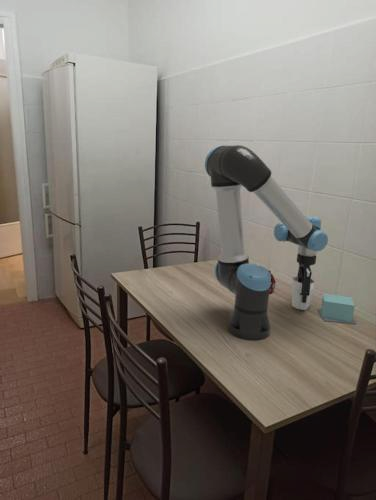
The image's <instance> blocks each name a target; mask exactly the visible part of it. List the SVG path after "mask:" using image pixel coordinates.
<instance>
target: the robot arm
mask: <svg viewBox="0 0 376 500" xmlns="http://www.w3.org/2000/svg"><path fill="white" fill-rule="evenodd" d="M204 169H205V171H206V173H207V175H208V176H209V177H210V185H211V188H213V189H214V190H215V192H216V193H215V194H216V205H217V216H218V217H217V218H218V219H217V220H218V227H219V228H218V229H219V241H220V242H219V243H220V252H221V253H220V254H219V255H218V256H217V263H216V264H215V266H214V276H215V279H216V280H217V281H218V282H219V284H220V285H221V286H222V287H224V288H225V289H227V290H228V291H229V292H230V293H232V294H234V306H233V309H232V312H231V315H230V317H229V318H228V319H229V320H228V321H227V330H228V332H229V333H230V334H232V335H233V336H235V337H238V338H241V339H244V340H253V341H254V340H255V341H256V340H258V341H259V340H263V339H266V338H268V336H270V334H271V324H270V320H269V314H268V307H269V299H270V298H269V297H270V294H269V291H270V285H271V275H270V272H269V271H268V270H269V269H267V268H266V267H264V266H262V265H258V264H256V263H250V260H249V254H248V253H247V252H245V247H244V245H245V244H244V243H245V242H244V233H243V232H244V231H243V214H242V213H243V211H242V200H241V198H242V197H241V187H244V189H245V190H246V191H247V192H249V193H254V194H255V196H256V197H258V199H259V200H260V202H262V203H263V204H264V205H265V207H267V208H268V210H269V211H270V212H271V213H272V214H273V215H274V216H275V217H276V218H277V220H279V222H277V223H276V225H275V226H274V227H273V228H274V230H273V235H274V239H275V240H276V241H278V242H289V243H292V244H295V245H297V246H298V247H297V254H296V255H297V256H296V263H298V270H297V276H296V277H299V279H298V282H299V283H302V293H300V295H301V296H300V303H299V309H298V310H304V311H306V310H307V309H306V305H307V297H308V296H309V295H310V294H309V293H310V282H311V279H312V274H313V273H312V269H311V266H314V265H316V261H317V254H318V252H321V251H323V250H324V249H325V248H326V247H327V245H328V242H329V238H328V234H327V233H326V231H325V232H324V231H322V228H321V227H322V219H321V218H320V217H318V216H314V215H313V216H312V215H305V214H304V212H303V211H302V210H301V209H300V208H299V207H298V206H297V205H296V203H295V202H294V201H293V200H292V199H291V197H289V196H290V195H288V194H287V193H286V192H285V190H284V189H283V188H282V187H281V186H280V185H279V183H278V182H277V181H276V180H275V178H273V177H272V176H273V175H272V174H273V172H272V170H271V169H270V168H269V167H268V166H267V164H266V163H265V162H264V161H263V160H262V159H261V158H260V157H259V156H258V155H257V154H256V153H255V152H254V151H253V150H252V149H250V148H248V147H246V146H245V145H244V146H243V145H238V144H237V145H227V144H226V145H219V146H216V147H214V148H212V149H211V150H210V151H209V152H208V153H207V155H206V157H205V160H204Z"/></svg>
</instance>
